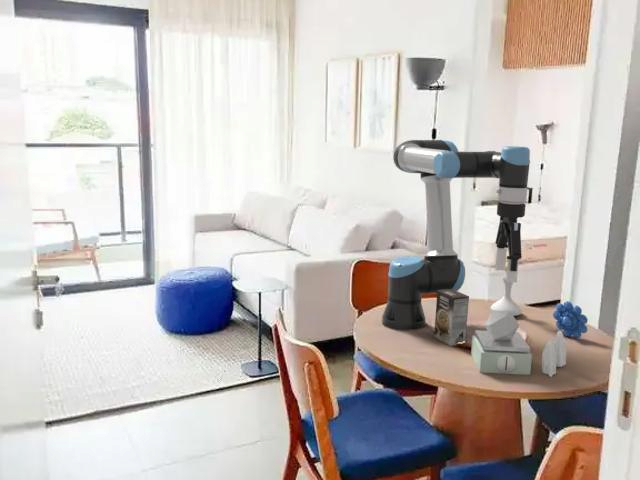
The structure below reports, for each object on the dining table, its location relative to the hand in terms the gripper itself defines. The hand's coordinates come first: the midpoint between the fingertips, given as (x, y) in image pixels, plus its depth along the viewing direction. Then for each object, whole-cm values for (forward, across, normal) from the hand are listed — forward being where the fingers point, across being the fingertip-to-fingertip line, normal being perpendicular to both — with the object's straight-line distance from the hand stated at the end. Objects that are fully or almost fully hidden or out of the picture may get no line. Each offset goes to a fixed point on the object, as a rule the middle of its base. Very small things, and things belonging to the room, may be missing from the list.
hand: (505, 275), depth 170 cm
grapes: (+27, -26, +28) cm, 47 cm away
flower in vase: (+27, -48, +13) cm, 56 cm away
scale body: (+27, 0, 0) cm, 27 cm away
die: (+19, 0, 0) cm, 19 cm away
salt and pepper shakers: (+27, +2, +15) cm, 31 cm away
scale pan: (+20, 0, 0) cm, 20 cm away
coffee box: (+27, -18, -12) cm, 34 cm away
